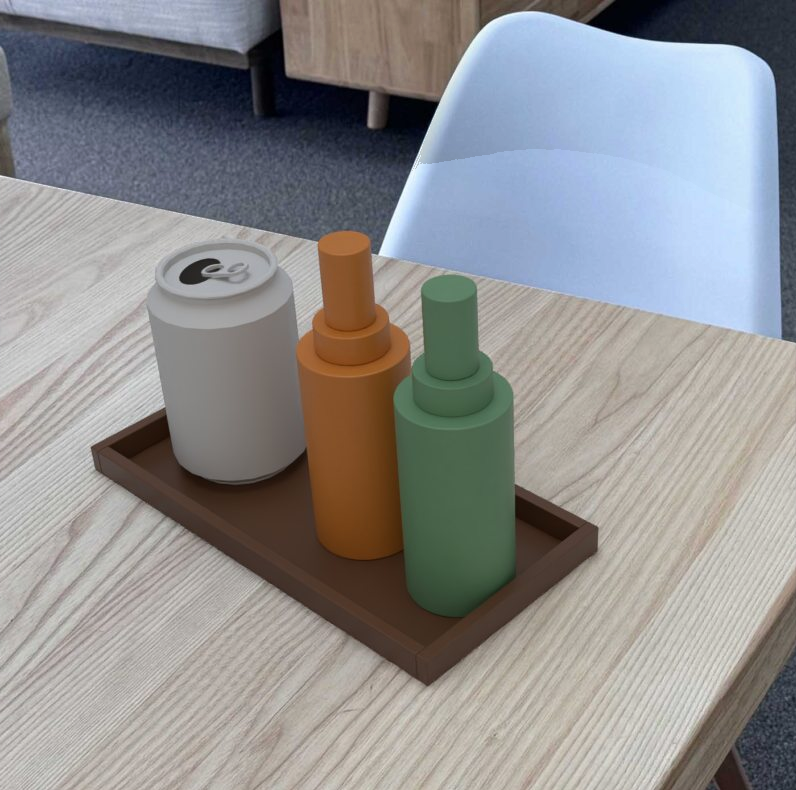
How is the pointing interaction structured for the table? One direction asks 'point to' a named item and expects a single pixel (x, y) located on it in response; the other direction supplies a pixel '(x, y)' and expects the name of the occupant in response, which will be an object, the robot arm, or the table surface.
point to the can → (228, 359)
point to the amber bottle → (352, 405)
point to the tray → (329, 573)
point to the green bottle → (455, 459)
